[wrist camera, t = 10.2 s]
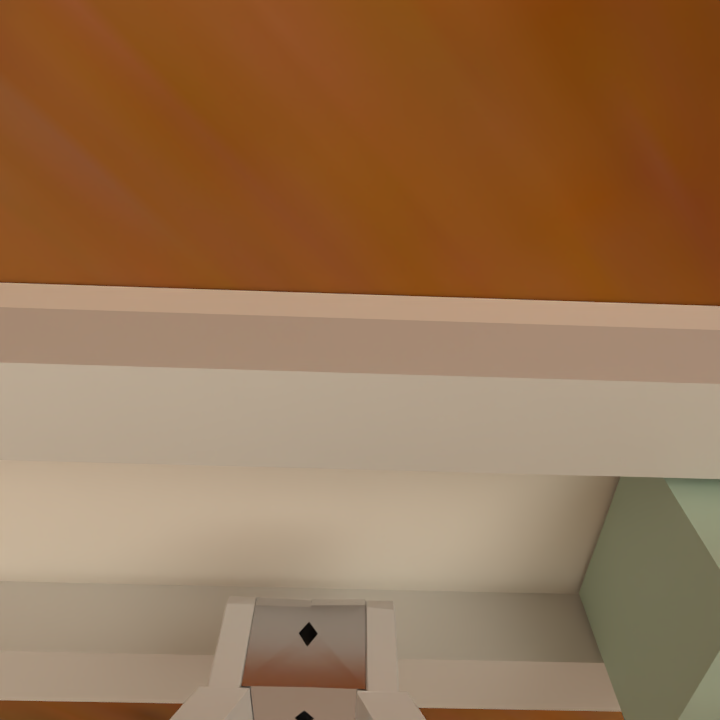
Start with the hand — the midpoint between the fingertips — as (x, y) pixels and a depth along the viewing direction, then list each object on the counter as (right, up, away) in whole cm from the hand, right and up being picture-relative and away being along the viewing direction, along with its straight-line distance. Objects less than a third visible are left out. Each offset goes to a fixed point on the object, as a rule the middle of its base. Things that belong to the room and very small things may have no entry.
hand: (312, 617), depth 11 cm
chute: (+2, +2, +3) cm, 4 cm away
